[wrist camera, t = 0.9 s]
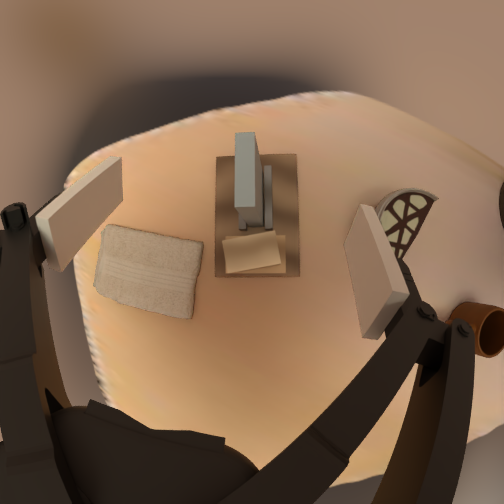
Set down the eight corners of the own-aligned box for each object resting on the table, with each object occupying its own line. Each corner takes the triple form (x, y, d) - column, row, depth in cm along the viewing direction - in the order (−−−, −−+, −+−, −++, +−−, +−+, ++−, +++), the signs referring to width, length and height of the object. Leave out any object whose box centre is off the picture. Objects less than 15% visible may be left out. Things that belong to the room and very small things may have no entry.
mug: (420, 342, 40) (448, 357, 31) (430, 295, 41) (461, 300, 31) (473, 347, 39) (504, 359, 30) (482, 304, 39) (515, 309, 30)
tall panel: (263, 227, 43) (255, 206, 29) (249, 227, 43) (234, 207, 29) (263, 173, 43) (254, 132, 29) (249, 173, 44) (235, 133, 30)
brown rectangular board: (299, 276, 43) (300, 276, 40) (216, 276, 44) (211, 277, 41) (295, 156, 44) (296, 148, 41) (217, 159, 45) (213, 152, 42)
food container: (380, 186, 43) (404, 164, 33) (410, 209, 42) (440, 195, 32) (338, 251, 43) (354, 245, 33) (371, 275, 42) (395, 276, 32)
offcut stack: (285, 272, 42) (286, 273, 37) (228, 273, 43) (222, 273, 38) (285, 234, 42) (285, 230, 38) (228, 235, 43) (222, 231, 38)
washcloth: (109, 224, 47) (99, 221, 44) (207, 241, 45) (202, 239, 42) (98, 293, 47) (88, 294, 43) (194, 318, 45) (188, 321, 42)
